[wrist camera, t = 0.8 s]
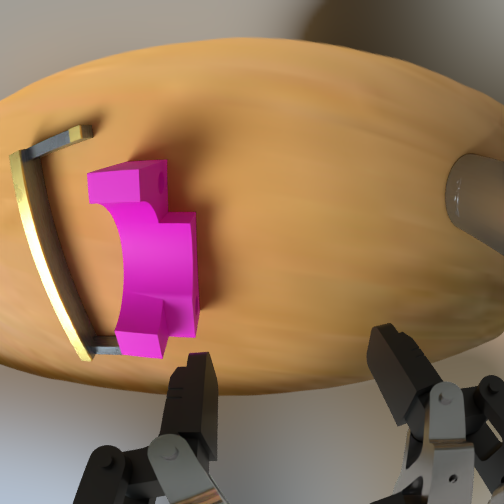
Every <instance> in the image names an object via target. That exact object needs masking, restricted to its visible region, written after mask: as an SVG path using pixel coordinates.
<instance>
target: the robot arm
mask: <svg viewBox="0 0 504 504" xmlns="http://www.w3.org/2000/svg"><path fill="white" fill-rule="evenodd" d="M445 195H446V209H447V212H448V216H449V218H450V220H451V222H452V223H453V224H454V225H455V226H456V227H458V228H459V229H461V230H463V231H465V232H466V233H468V234H470V235H471V236H473V237H475V238H477V239H478V240H480V241H481V242H483V243H485V244H486V245H488V246H489V247H491V248H493V249H494V250H496V251H497V252H499V253H500V254H502V255H504V162H503V161H499V160H496V159H492V158H488V157H483V156H479V155H474V154H467V155H464V156H462V157H461V158H459V159H458V161H457V162H456V163H455V164H454V166H453V167H452V169H451V172H450V174H449V177H448V181H447V185H446V193H445ZM367 364H368V367H369V369H370V371H371V373H372V375H373V377H374V379H375V380H376V382H377V384H378V387H379V389H380V391H381V393H382V395H383V397H384V399H385V401H386V403H387V405H388V407H389V409H390V411H391V413H392V415H393V418H394V419H395V422H396V424H397V426H400V425H403V424H406V423H407V424H408V426H409V429H408V431H407V436H406V445H405V452H404V458H403V464H402V470H401V473H400V476H399V478H398V480H397V482H396V484H395V487H394V490H393V495H391V496H389V497H386V498H383V499H381V500H378V501H375V502H372V503H370V504H471V500H472V491H473V478H474V467H475V468H476V470H477V471H478V473H479V475H480V476H481V478H482V479H483V481H484V482H485V484H486V486H487V487H488V489H489V491H490V492H491V494H492V497H491V499H490V500H489V502H488V504H504V382H503V380H502V379H500V378H499V377H497V376H494V375H489V376H486V377H484V378H483V379H482V380H481V382H480V383H479V385H478V386H475V387H469V388H462V389H460V388H459V387H458V386H457V385H456V384H454V383H451V382H443V380H442V379H441V378H440V376H439V375H438V373H437V372H436V370H435V369H434V367H433V366H432V365H431V363H430V362H429V360H428V359H427V357H426V356H424V353H423V352H422V351H421V349H419V346H418V345H417V344H416V342H415V341H414V340H413V338H411V337H410V336H408V335H407V334H405V333H404V332H401V333H398V331H397V330H396V329H395V327H394V326H393V325H392V324H391V323H387V324H383V325H379V326H375V327H373V328H372V330H371V335H370V340H369V345H368V350H367ZM487 420H489V421H490V422H491V424H492V425H493V426H494V428H495V429H496V430H497V432H498V433H499V434H500V436H501V437H502V440H503V442H500V441H499V440H498V438H497V437H496V436H495V434H494V433H493V432H492V430H491V429H490V428H489V426H488V425H487V424H486V421H487ZM217 426H218V382H217V377H216V374H215V370H214V367H213V364H212V360H211V357H210V354H209V352H200V353H189V355H188V361H187V367H177V368H176V370H175V371H174V373H173V374H172V375H171V377H170V381H169V386H168V391H167V399H166V402H165V408H164V413H163V418H162V424H161V430H160V434H159V436H158V437H157V438H155V439H154V440H153V441H152V442H151V443H150V445H149V446H147V447H145V448H141V449H137V450H131V451H126V452H122V451H120V450H119V449H118V448H117V447H114V446H111V445H104V446H101V447H98V448H97V449H95V450H94V451H93V452H92V454H91V456H90V458H89V461H88V463H87V466H86V468H85V471H84V473H83V476H82V479H81V482H80V485H79V487H78V490H77V493H76V496H75V499H74V501H73V504H155V501H156V497H159V496H165V495H166V497H167V499H168V501H169V503H170V504H230V503H229V502H228V501H227V499H226V498H225V496H224V495H223V493H222V492H221V490H220V489H219V488H218V486H217V485H216V483H215V482H214V480H213V479H212V477H211V475H210V474H209V461H217V428H218V427H217Z"/></svg>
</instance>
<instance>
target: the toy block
mask: <svg viewBox="0 0 504 504" xmlns="http://www.w3.org/2000/svg"><path fill="white" fill-rule="evenodd" d="M87 179H88V192H89V203H90V204H94V203H98V204H101V205H103V206H104V207H105V208H107V210H108V211H109V212H110V213H111V215H112V217H113V219H114V221H115V223H116V225H117V228H118V232H119V235H120V240H121V245H122V252H123V264H124V285H123V297H122V304H121V310H120V315H119V319H118V322H117V325H116V328H115V334H116V337H117V341H118V344H119V347H120V350H121V353H122V354H123V355H131V356H140V357H149V358H160V359H163V355H164V351H165V348H166V344H167V340H168V337H169V336H174V337H193V338H195V337H196V331H197V325H198V319H199V313H200V304H199V287H198V266H197V238H196V212H168V189H167V159H166V160H145V161H129V162H124V163H120V164H117V165H113V166H110V167H106V168H103V169H100V170H96V171H93V172H90V173H87Z"/></svg>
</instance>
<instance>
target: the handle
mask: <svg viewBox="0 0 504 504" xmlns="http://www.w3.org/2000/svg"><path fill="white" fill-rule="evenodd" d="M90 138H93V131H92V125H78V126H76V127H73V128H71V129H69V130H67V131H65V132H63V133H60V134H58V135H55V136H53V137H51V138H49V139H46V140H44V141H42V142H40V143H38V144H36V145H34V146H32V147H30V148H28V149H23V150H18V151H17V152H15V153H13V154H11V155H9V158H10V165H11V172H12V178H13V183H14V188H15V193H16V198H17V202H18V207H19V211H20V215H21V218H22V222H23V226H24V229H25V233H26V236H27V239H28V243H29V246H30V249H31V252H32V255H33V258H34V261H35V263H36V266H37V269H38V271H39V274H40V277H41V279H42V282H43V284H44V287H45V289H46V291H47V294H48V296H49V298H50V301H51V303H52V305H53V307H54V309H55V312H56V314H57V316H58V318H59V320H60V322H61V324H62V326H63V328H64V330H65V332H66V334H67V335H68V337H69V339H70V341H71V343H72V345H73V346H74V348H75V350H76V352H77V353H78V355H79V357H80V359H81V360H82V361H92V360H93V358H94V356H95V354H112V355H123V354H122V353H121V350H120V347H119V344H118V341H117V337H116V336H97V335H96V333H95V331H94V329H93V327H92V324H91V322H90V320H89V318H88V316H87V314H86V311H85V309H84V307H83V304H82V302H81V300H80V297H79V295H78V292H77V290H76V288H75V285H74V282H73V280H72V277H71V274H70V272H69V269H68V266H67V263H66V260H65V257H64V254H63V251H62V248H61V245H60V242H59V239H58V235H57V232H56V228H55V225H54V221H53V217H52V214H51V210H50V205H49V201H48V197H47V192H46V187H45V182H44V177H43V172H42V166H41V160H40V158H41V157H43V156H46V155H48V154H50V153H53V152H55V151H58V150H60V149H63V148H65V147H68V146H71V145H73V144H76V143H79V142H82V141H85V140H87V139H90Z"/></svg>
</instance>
